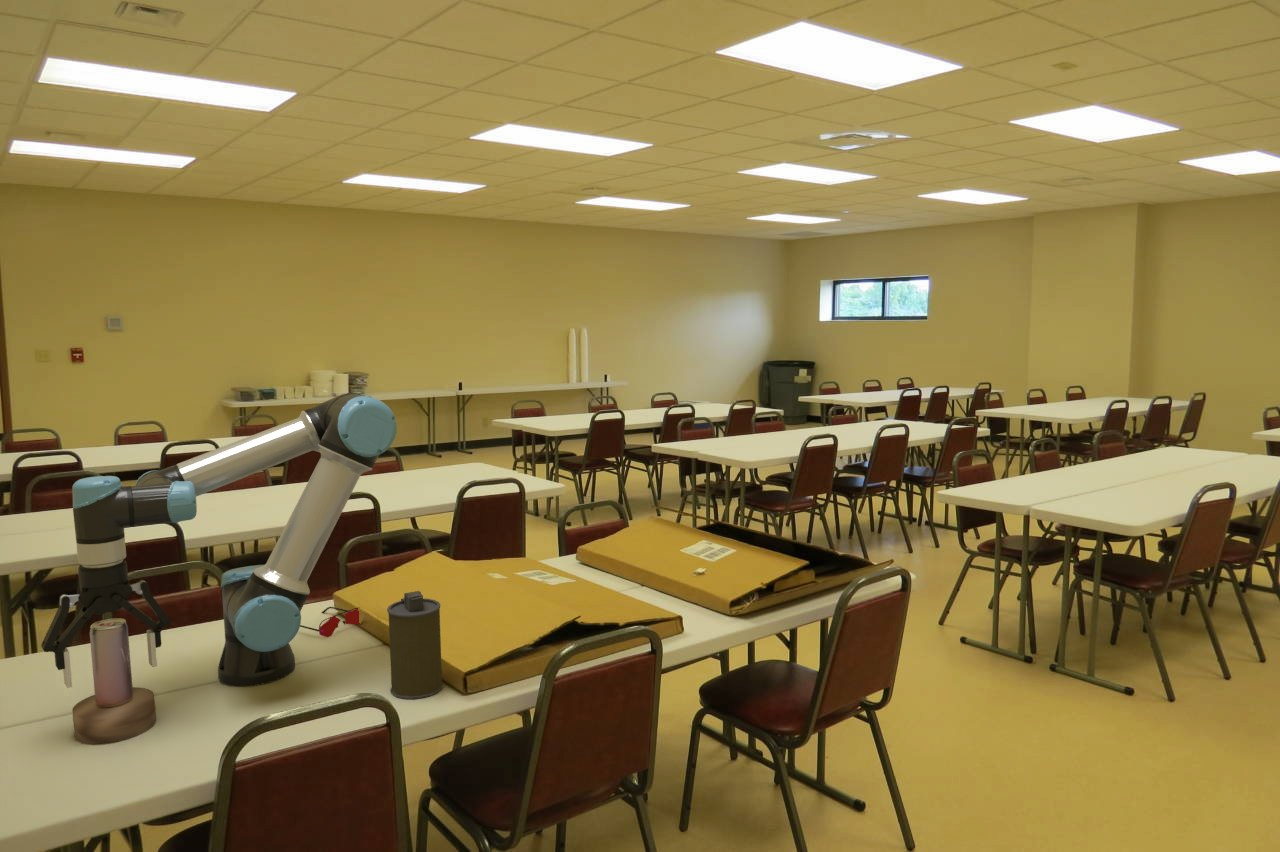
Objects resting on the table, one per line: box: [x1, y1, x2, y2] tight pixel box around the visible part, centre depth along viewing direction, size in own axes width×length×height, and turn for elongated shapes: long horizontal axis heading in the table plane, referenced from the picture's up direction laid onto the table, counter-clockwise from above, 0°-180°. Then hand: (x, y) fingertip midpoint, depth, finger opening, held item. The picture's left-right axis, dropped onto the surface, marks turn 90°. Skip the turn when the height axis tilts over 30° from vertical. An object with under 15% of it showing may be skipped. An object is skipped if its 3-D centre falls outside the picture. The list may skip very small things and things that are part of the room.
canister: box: [386, 590, 444, 700], centre depth 178 cm, size 11×10×20 cm
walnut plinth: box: [71, 686, 157, 746], centre depth 162 cm, size 13×13×5 cm
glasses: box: [300, 606, 361, 638], centre depth 215 cm, size 14×16×5 cm
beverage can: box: [89, 617, 134, 708], centre depth 161 cm, size 6×6×15 cm
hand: (111, 674), depth 161 cm, fingers open, 13 cm apart
